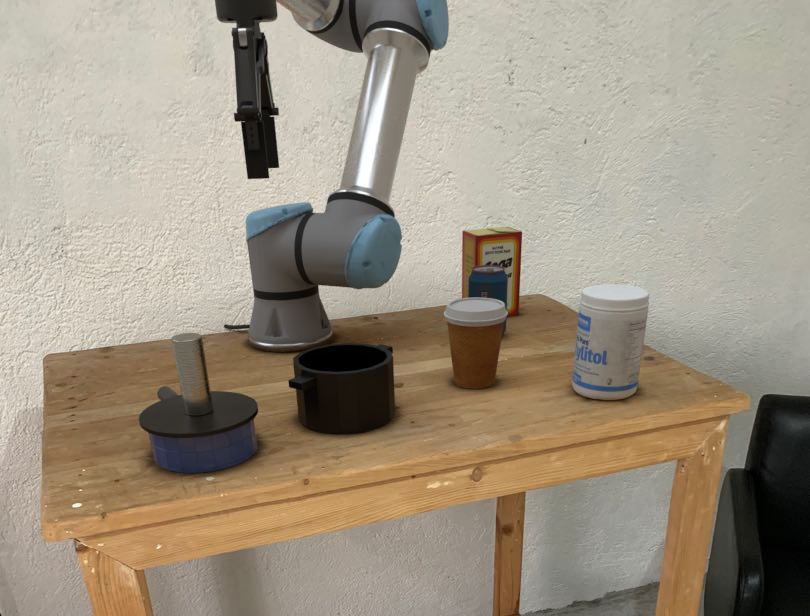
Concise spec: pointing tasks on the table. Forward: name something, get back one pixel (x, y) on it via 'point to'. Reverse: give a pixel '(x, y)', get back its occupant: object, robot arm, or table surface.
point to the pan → (205, 450)
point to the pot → (344, 387)
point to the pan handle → (165, 393)
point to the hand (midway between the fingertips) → (264, 173)
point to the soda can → (489, 284)
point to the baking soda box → (494, 258)
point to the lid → (196, 399)
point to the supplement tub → (609, 341)
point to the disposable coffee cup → (475, 339)
